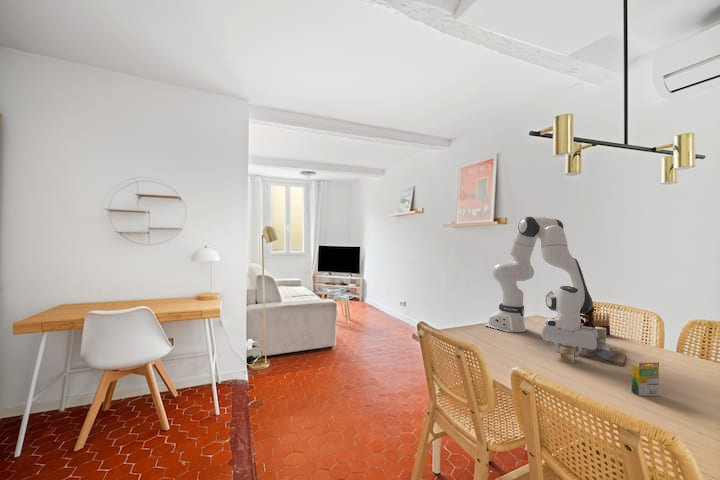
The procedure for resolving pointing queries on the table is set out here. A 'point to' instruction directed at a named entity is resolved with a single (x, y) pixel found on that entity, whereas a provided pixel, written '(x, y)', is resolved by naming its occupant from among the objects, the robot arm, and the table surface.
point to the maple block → (567, 353)
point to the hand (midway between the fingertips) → (568, 354)
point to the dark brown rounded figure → (588, 318)
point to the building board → (613, 357)
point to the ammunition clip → (602, 322)
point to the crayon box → (645, 379)
